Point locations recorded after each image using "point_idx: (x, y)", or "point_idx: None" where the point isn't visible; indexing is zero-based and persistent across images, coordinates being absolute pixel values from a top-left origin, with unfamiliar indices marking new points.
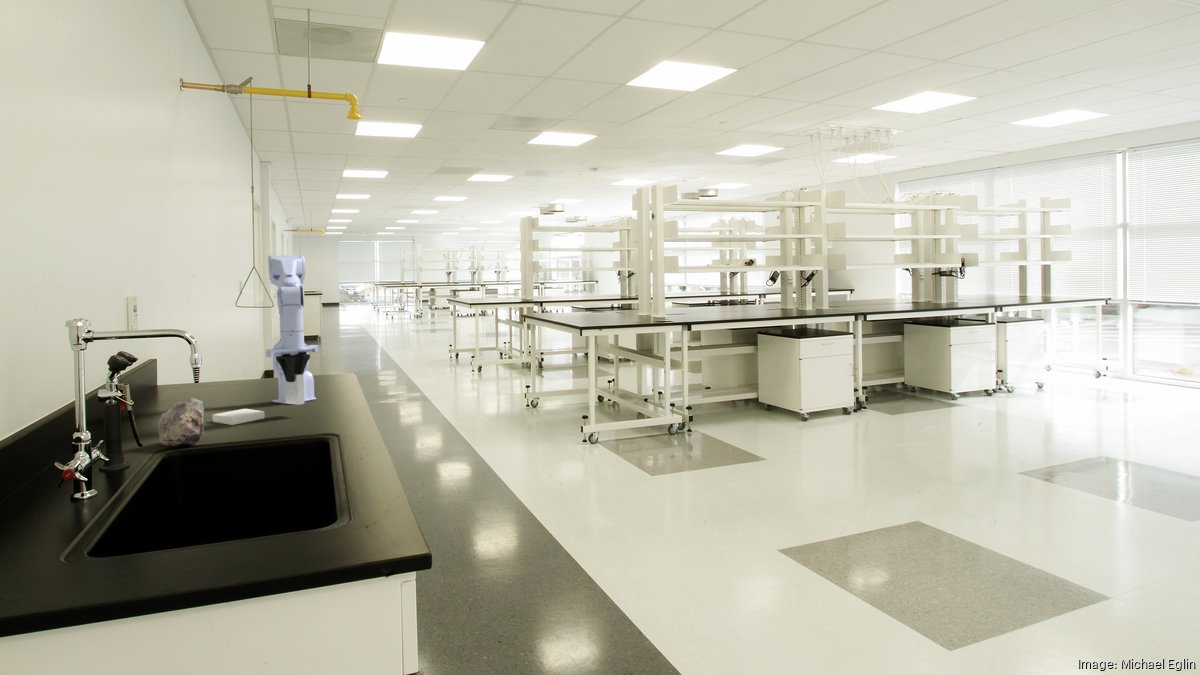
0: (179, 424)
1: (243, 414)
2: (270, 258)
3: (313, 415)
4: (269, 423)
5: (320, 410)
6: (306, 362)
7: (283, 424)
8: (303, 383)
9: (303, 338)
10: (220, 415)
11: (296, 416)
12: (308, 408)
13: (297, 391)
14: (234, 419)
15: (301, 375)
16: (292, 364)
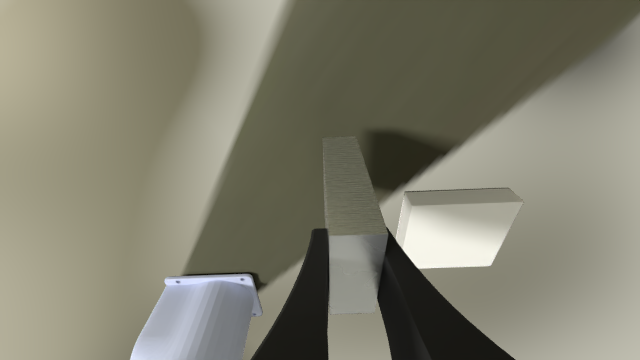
0: None
1: (471, 214)
2: None
3: (300, 96)
4: (468, 113)
5: (232, 151)
6: (272, 341)
7: (473, 48)
8: (327, 191)
9: None
10: (498, 245)
11: (343, 134)
12: (242, 205)
13: (365, 167)
14: (510, 197)
15: (346, 229)
16: (443, 334)
